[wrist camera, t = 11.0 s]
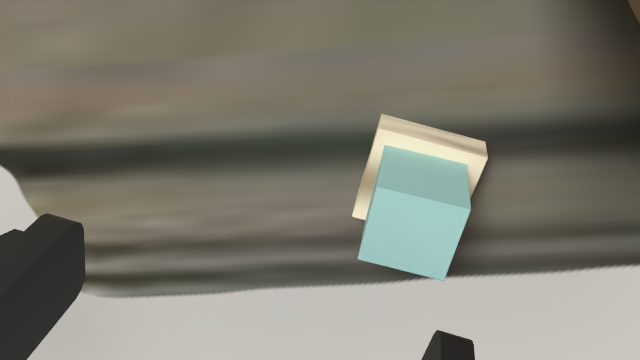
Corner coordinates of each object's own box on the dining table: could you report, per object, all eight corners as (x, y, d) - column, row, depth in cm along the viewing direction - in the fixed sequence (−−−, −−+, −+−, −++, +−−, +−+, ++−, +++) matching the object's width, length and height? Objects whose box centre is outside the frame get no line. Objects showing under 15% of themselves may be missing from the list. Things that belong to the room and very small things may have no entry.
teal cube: (384, 144, 39) (376, 186, 34) (466, 164, 39) (471, 209, 34) (367, 211, 42) (357, 259, 37) (443, 230, 42) (443, 280, 37)
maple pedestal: (382, 111, 41) (378, 127, 39) (484, 139, 41) (487, 158, 38) (356, 196, 46) (351, 216, 43) (449, 222, 45) (450, 244, 43)
